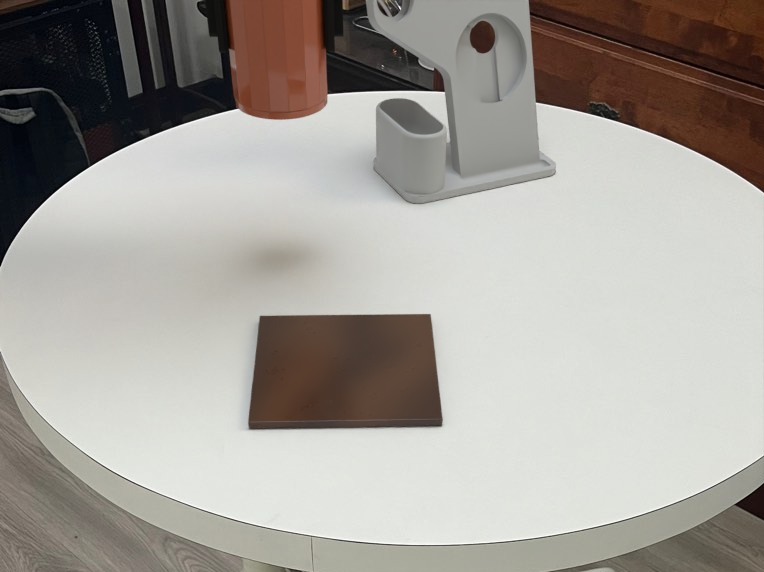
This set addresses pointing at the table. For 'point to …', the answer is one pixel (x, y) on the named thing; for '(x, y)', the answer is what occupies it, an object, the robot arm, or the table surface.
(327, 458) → the table surface
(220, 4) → the robot arm
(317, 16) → the cup
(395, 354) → the coaster
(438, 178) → the phone holder
